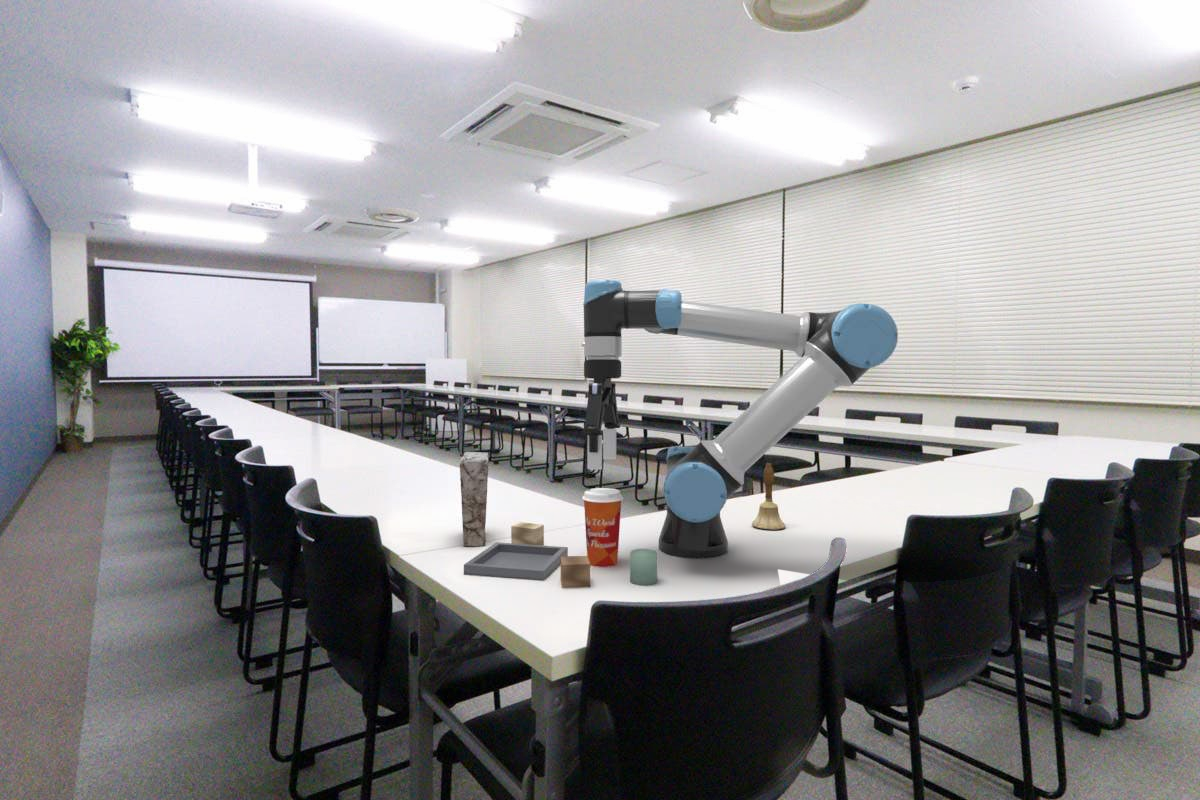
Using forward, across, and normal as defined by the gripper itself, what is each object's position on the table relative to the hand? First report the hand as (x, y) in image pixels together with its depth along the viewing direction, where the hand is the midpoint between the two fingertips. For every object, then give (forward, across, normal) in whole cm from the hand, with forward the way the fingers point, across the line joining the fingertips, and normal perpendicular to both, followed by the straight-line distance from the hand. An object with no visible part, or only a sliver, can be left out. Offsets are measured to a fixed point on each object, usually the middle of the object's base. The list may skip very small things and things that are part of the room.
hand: (602, 464), depth 127 cm
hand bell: (+21, -41, +34) cm, 57 cm away
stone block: (+21, -11, -33) cm, 40 cm away
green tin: (+21, +10, +10) cm, 25 cm away
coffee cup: (+21, 0, 0) cm, 21 cm away
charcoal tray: (+20, +6, -16) cm, 27 cm away
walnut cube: (+21, +14, -2) cm, 25 cm away
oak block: (+21, -8, -19) cm, 29 cm away
